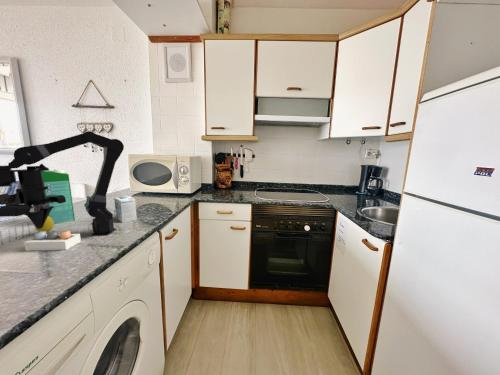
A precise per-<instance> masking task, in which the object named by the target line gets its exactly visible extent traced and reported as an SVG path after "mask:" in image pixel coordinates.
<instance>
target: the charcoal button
mask: <svg viewBox="0 0 500 375" xmlns="http://www.w3.org/2000/svg"><path fill="white" fill-rule="evenodd" d="M59 233H60V232H59V230H51V231H49V232H48V233H46V234H47V238H48V240H55V239H57V238H59Z"/></svg>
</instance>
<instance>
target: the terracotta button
mask: <svg viewBox="0 0 500 375" xmlns="http://www.w3.org/2000/svg"><path fill="white" fill-rule="evenodd" d="M58 233H59V235H60V240H67V239H69V238H71V234H72V233H71V230H63V231H61V232H58Z"/></svg>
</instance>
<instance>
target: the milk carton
mask: <svg viewBox="0 0 500 375" xmlns="http://www.w3.org/2000/svg"><path fill="white" fill-rule="evenodd" d="M42 174H43V180H44V186H48V189H46V190H45V193H46V196H49V195H63V196H64V197H65V199H66V202H64V203H61V204H59V203H58V202H53V203H49V205H50V206H54V208H52V210H51V211H50V213H49V215H48V216H50V217H51V218H52V220H53V222H54V225H56V223H57V224H62V223H67V222H66V221H68V222H72V220H74V221H76V220H75V218H76V216H75V211H74V203H73V196H72V190H71V184H70V183H71V182H70V181H71V180H70V175H69V173H67V172H66V170H63V169H56V168H54V169H53V170H50V169H49V170H48V171H42ZM61 222H62V223H61Z"/></svg>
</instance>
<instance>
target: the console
mask: <svg viewBox="0 0 500 375" xmlns="http://www.w3.org/2000/svg"><path fill="white" fill-rule="evenodd" d="M81 240H82V239H81V234H80V233H71V238H69V239H67V240H60V235H59V238H57V239H55V240H48V238H46V239H43V240H35V237H34V238H31V239H28V240H26V241H24V242H23V244H24V248H25V252H27V251H28V252H29V251H65V250H66V251H67V250H69V249H70V248H72V247H73V246H75V245H77V244H79V243H81V242H82V241H81Z"/></svg>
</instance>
